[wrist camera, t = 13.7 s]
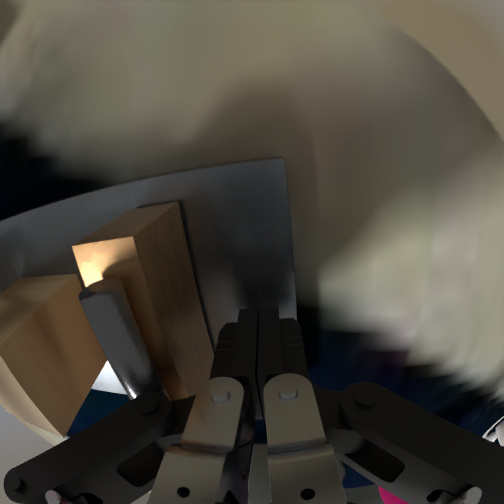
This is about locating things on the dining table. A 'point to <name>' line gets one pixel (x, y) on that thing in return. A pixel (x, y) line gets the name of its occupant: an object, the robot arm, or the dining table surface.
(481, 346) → the dining table surface
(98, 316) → the sliding jaw
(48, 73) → the dining table surface
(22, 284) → the oak block
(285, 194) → the vise base
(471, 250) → the dining table surface
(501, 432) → the white looped part
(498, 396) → the dining table surface
